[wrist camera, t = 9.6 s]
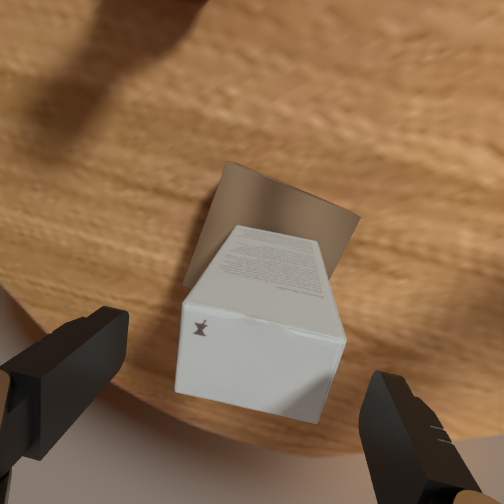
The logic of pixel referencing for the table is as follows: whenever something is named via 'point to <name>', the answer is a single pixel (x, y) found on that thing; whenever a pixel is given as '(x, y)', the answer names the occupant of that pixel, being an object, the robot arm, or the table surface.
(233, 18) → the table surface
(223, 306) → the skincare box
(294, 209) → the walnut block
